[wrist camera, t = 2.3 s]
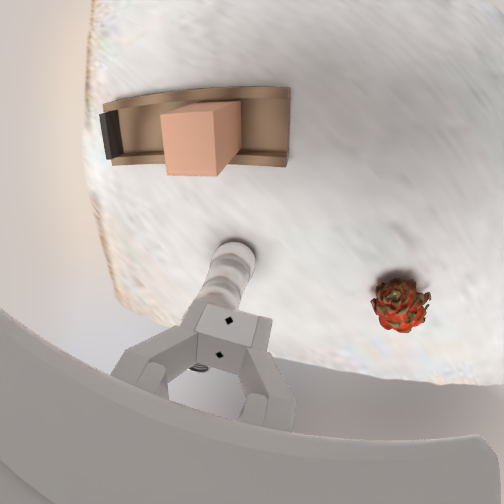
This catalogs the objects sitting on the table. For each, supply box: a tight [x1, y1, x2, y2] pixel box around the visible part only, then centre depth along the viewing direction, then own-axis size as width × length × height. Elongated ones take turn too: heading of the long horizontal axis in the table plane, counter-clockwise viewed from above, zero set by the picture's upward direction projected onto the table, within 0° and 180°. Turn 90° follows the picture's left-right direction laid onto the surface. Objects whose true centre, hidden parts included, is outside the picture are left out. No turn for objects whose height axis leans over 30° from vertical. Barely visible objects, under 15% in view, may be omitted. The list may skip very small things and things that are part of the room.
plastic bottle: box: [182, 242, 255, 373], centre depth 36 cm, size 6×7×20 cm
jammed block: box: [160, 100, 242, 176], centre depth 27 cm, size 5×6×10 cm
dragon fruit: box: [370, 278, 431, 333], centre depth 39 cm, size 8×8×12 cm
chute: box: [99, 86, 290, 167], centre depth 31 cm, size 24×9×4 cm, turn 91°
